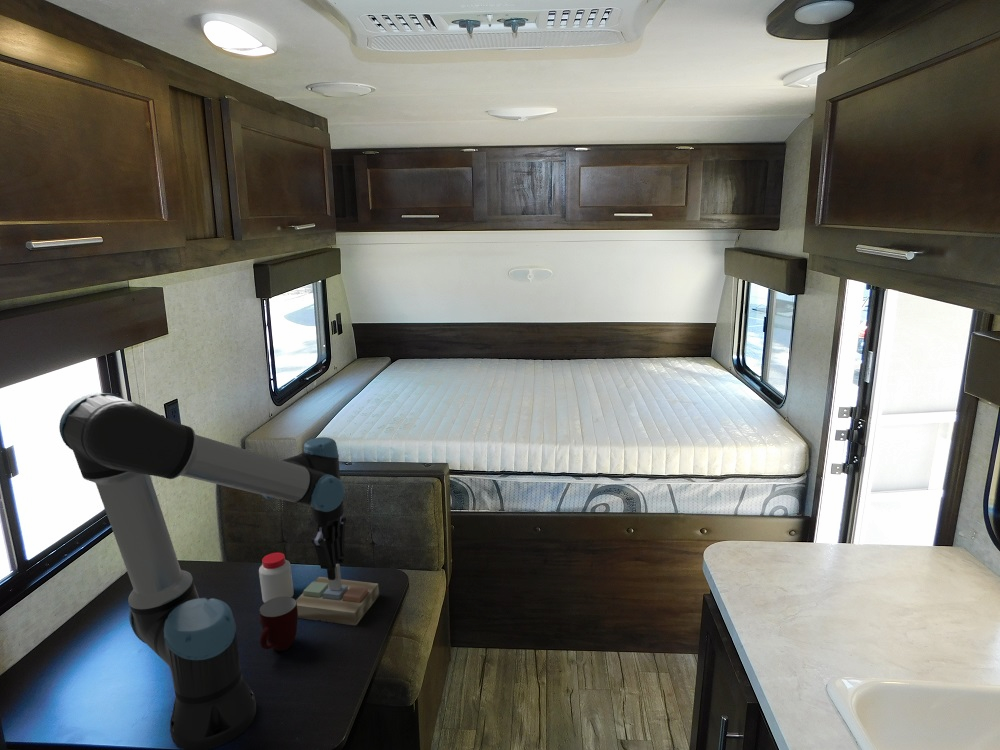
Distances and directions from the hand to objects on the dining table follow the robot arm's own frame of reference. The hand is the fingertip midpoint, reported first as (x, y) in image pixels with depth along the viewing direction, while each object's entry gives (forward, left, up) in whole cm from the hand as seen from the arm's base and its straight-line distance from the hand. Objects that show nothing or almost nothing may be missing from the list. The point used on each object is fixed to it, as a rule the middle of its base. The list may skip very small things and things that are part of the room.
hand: (335, 588), depth 158 cm
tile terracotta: (0, -5, -3) cm, 6 cm away
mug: (-18, +5, -5) cm, 19 cm away
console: (0, 0, -5) cm, 5 cm away
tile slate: (0, 0, -3) cm, 3 cm away
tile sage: (0, +6, -3) cm, 6 cm away
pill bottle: (+1, +18, -5) cm, 18 cm away
